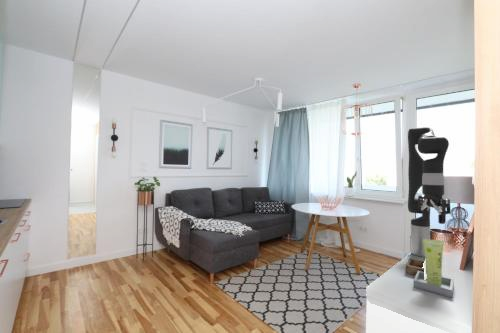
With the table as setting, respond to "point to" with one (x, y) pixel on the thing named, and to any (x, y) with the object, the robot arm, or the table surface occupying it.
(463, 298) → the table surface
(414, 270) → the wooden picture frame
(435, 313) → the table surface
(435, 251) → the tube
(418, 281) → the tray
